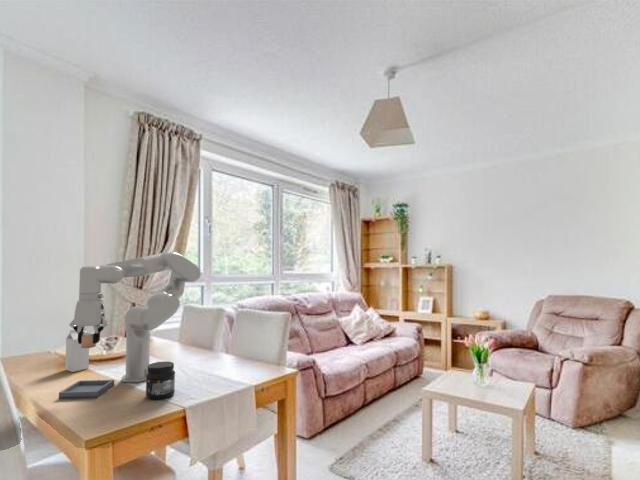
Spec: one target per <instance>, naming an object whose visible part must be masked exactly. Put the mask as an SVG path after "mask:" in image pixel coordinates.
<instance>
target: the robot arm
mask: <svg viewBox="0 0 640 480" xmlns="http://www.w3.org/2000/svg"><path fill="white" fill-rule="evenodd" d="M165 271H170V278H169V282H168V284H167V285H166V286H165V287H163V288H161V289H160V290H159V291H157V292H156V293H154V294H153V295H151V296H150V297H149V299H148V300H147V301H146V302H147V303H146V306H142V305H141V306H140V305H139V306H138V305H137V306H133V307H130V308H129V309H128V310H127V311H126V313H125V316H124V326H125V333H126V335H125V336H126V337H125V338H126V339H125V340H126V345H125V346H126V347H125V375H122V376H121V382H122V383H126V384H131V383H132V384H133V383H134V384H135V383H141V382H146V374H147V373H148V371H147V368H148V365H150V359H151V358H150V354H151V350H150V349H151V348H150V347H151V334H150V331H153V330H155V329H157V328H159V327H160V326H161V325H162V324H164V323H165V322H167V321H168V320H169V319H170V318H172V317H173V316H174V315H175V314H176V313H177V312H178V311H179V308H180V299H181V297H182V296H183V294H184V293H185V292H184V291H185V287H186V283H195V282H197V281H199V279H200V278H201V275H202V274H201V273H202V271H201V269H200V267H199V266H198V265H197V264H195V263H193V262H192V261H191V260H189V258H186V257H185V256H184V255H182V254H180V253H178V252H173V251H172V252H160V253H154V254H150V255H146V256H141V257H135V258H131V259H127V260H121V261H116V262H110V263H106V264H101V265H98V266H95V265H94V266H90V265H89V266H82V267H81V268H80V269H79V286H78V287H79V289H78V291H79V292H78V293H79V294H78V300H77V302H76V305H75V309H74V318H73V320H72V321H70V323H69V325H68V326H69V327H71V328H72V330H75V331H76V333H77V334H78V344H81V336H82V335H83V333H84V332H83V330H84V328H85V327H93V329H94V332H95V333H94V335H93V343H94V344H96V345H97V344H98V343H99V342H100V340H101V332H102V331H103V330H104V329H105V328H106V327H108V326H109V325H110V323H109V322H108V320H107V319H106V309H105V303H104V300H103V299H102V298H105V294H103V293H102V284H109V285H110V284H112V285H113V284H118V283H120V282H121V281H122V280H123V279H124V278H140V277H146V276H149V275H154V274H157V273H161V272H165Z"/></svg>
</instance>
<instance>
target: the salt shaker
mask: <svg viewBox="0 0 640 480" xmlns="http://www.w3.org/2000/svg"><path fill="white" fill-rule="evenodd" d="M94 333H95V331H86V332H85V333H83V335H82V336H81V348H89V349H92V348H95V347H96V346H97V343H96V344H94V343H93V335H94Z"/></svg>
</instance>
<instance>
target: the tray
mask: <svg viewBox="0 0 640 480" xmlns="http://www.w3.org/2000/svg"><path fill="white" fill-rule="evenodd" d="M114 386H115V379H95V380H94V379H91V380H87V379H86V380H85V379H84V380H78V381H76V382H74V383H72V384H70V385H69V386H67V387H66V388H64V389H63V390H61V391H60V392H58V400H85V399H86V400H87V399H88V400H89V399H90V400H92V399H98V398H100V397H102V395H104V394H105V393H106V392H108V391H109V390H111V389H112V388H113V387H114Z"/></svg>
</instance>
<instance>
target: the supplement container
mask: <svg viewBox="0 0 640 480" xmlns="http://www.w3.org/2000/svg"><path fill="white" fill-rule="evenodd" d="M174 369H175V364H174V362H173V361H168V360H166V361H155V362H152V363H149V365H148V368H147V371H148V373H147V374H146V381H145V397H146V398H147V399H148V400H150V401H151V400H152V401H160V400H161V401H162V400H165V399H169V398H171V397H172V396H174V395H175V392H176V389H175V385H176V384H175V383H176V378H175V377H176V371H175V370H174Z"/></svg>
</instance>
